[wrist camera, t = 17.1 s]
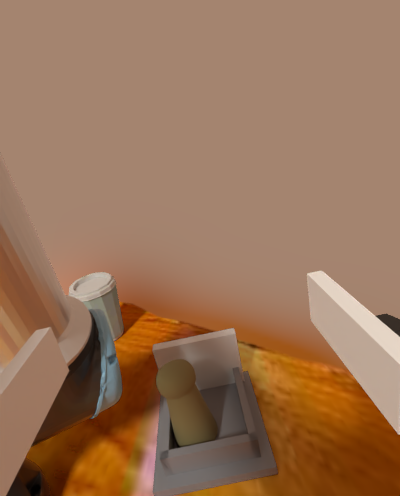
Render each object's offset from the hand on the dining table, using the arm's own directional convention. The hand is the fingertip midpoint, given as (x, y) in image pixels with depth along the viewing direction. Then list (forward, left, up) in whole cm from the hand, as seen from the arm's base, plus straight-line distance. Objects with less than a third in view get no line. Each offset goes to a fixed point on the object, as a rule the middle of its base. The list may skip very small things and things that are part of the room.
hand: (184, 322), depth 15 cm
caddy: (-10, +16, -30) cm, 35 cm away
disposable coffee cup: (-43, +34, -30) cm, 62 cm away
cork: (-11, +14, -29) cm, 34 cm away
